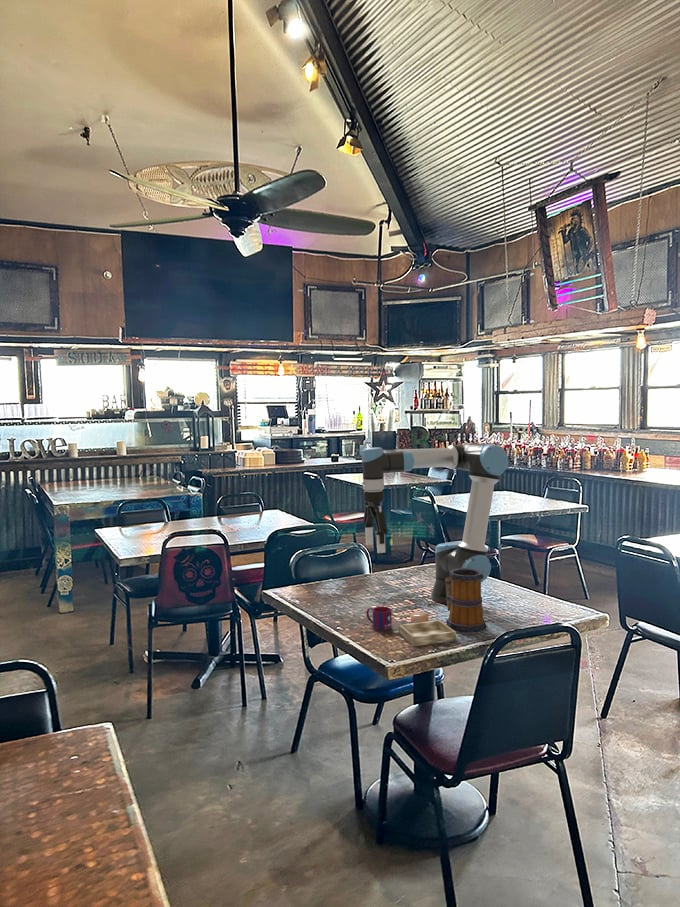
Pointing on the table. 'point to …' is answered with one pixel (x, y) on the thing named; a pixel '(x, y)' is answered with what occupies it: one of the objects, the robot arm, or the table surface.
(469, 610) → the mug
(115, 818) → the table surface
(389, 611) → the cup
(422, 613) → the tan rounded block
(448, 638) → the wooden tray
